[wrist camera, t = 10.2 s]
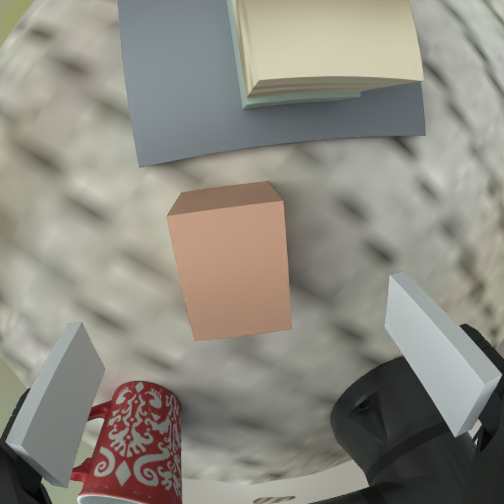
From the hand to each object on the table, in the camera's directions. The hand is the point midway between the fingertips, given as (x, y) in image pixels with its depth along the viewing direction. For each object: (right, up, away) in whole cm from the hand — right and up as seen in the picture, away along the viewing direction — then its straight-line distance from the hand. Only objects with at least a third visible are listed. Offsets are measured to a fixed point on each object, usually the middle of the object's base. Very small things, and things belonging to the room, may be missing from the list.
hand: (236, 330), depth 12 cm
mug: (-12, -12, +16) cm, 23 cm away
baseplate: (+2, +16, +5) cm, 18 cm away
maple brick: (+3, +15, 0) cm, 15 cm away
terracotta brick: (-1, +4, +10) cm, 11 cm away
